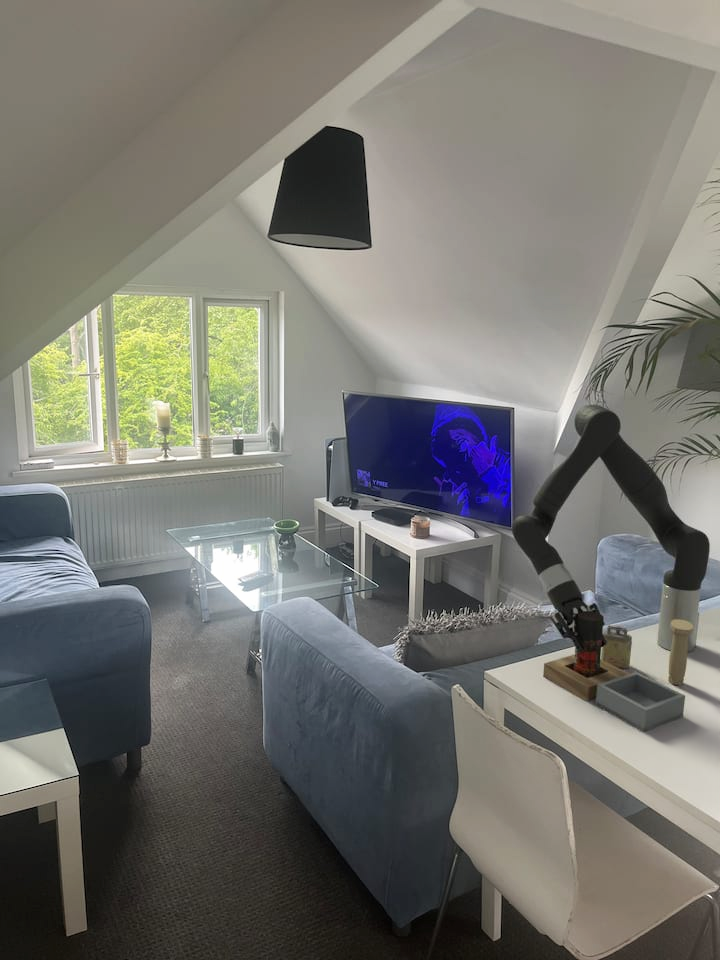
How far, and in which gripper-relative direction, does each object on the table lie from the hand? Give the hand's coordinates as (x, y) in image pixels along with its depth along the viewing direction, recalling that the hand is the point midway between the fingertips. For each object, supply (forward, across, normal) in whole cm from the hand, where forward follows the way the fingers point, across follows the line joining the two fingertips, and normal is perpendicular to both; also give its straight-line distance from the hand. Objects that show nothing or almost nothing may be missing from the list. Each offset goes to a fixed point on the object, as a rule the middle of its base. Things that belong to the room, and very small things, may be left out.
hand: (593, 648), depth 170 cm
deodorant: (+4, 0, +6) cm, 8 cm away
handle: (+13, +19, 0) cm, 23 cm away
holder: (+5, 0, +8) cm, 9 cm away
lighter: (+4, +14, +10) cm, 17 cm away
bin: (+16, 0, -3) cm, 17 cm away
